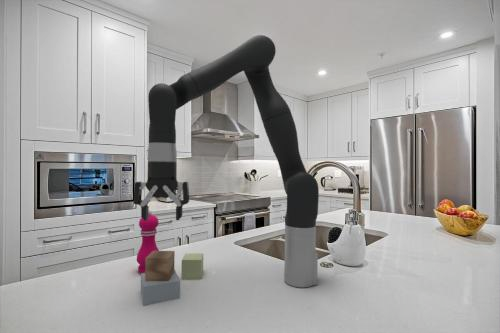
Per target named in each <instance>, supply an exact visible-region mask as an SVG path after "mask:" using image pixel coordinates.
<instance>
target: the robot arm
mask: <svg viewBox="0 0 500 333" xmlns="http://www.w3.org/2000/svg"><path fill="white" fill-rule="evenodd" d="M276 52H277V51H276V44H275V42H274V41H273V40H272V39H271V37H268V36H267V35H263V34H257V35H253V36H252V37H250V38H249V39H247V40H246V41H244V42H242V44H240V45H239V46H237V47H236V48H235V49H232V50H230V51H229V52H228V53H226V54H224V55H223V56H220V57H219V58H217V59H215V60H213V61H211V62H210V63H209V62H208V63H207V64H205V65H203V66H200V67H198V68H196V69H193V70H191V71H188V72H187V73H185V74H183V75H182V76H180V77H179V78H178V79H177V81H175V82H173V83H170V84H167V83H163V82H161V83H156V84H154V85H153V86H152V87H151V88H150V89H149V91H148V96H147V97H148V100H147V101H148V117H149V126H148V147H147V157H146V159H147V172H146V173H147V174H146V175H147V177H146V178H147V179H146V182H145V181H143V182H142V181H136V182H135V183H134V189H133V190H134V191H133V205H138V206H140V209H141V210H140V213H141V215H140V217H141V218H143V220H144V221H147V220H148V218H149V210H150V209H149V208H150V207H149V205H148V204H149V203H150V202H151V201H152V200H153V198H155V199H159V198H162V199H167V198H170V199H171V201H173V202H174V204H175V205H176V206H175V220H176V221H180V219H182V218H183V206H184V205H187V204H188V203H189V202H190V192H189V191H190V190H189V189H190V186H189V182H188V181H183V182H178V179H177V174H178V173H177V172H178V171H177V170H178V169H177V166H178V165H177V164H178V163H177V160H178V158H177V156H178V155H177V152H178V151H177V146H176V144H177V142H176V141H177V130H176V115H177V113H176V112H177V110H178V109H180V108H181V107H183V106H185V105H186V104H188V103H189V102H191V101H193V100H196V99H198V98H200V97H202V96H205V95H206V94H209V93H210V92H212V91H214V90H215V89H217V88H219V87H220V86H222V85H223V84H224V83H225V82H227V81H229V80H230V79H232V78H233V77H235V76H236V75H238V74H240V73H241V72H244V76H245V77H246V79H247V81H248V83H249V86H250V88H251V90H252V94H253V97H254V100H255V102H256V103H255V104H256V105H257V108H258V112H259V114H260V120H261V122H262V124H263V128H264V131H265V134H266V136H267V138H268V141H269V144H270V146H271V150H272V152H273V154H274V156H275V157H276V160H277V163H278V166H279V170H280V174H281V178H282V184H283V187H284V192H285V194H286V212H285V216H284V268H283V269H284V271H283V272H284V273H283V277H284V278H283V280H284V282H285V283H286V284H287V285H289V286H292V287H295V288H301V289H303V288H310V287H314V286H317V285H318V263H319V261H318V258H319V257H318V256H319V255H318V254H319V253H318V251H317V250H316V238H317V237H316V232H317V228H316V227H317V226H316V224H317V219H318V215H319V192H320V191H319V184H318V181H317V179H316V178H315V177H314V176H313V175H312V174H310V173H308V172H307V170H306V167H305V165H304V162H303V160H302V157H301V154H300V149H299V147H300V146H299V140H298V133H297V131H298V130H297V127H296V123H295V120H294V116H293V114H292V111H291V109H290V107H289V105H288V103H287V101H286V100H285V99H284V98H283V97H282V95H281V94H280V93H279V92H278V90H277V89H276V87H275V85H274V82H273V79H272V76H271V73H270V69H269V66H270V65H271V64H272V62H273V61H274V58H275V56H276ZM145 188H146V189H147V190H148V193H147V194H146V195H145V197H144V199H142V196H143V195H142V194H143V193H142V192H143V190H144V189H145ZM178 188H179V189H180V190H181V191H182V200H181V198H180V197H179V195H178V194H177V192H176V190H177V189H178Z"/></svg>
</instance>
